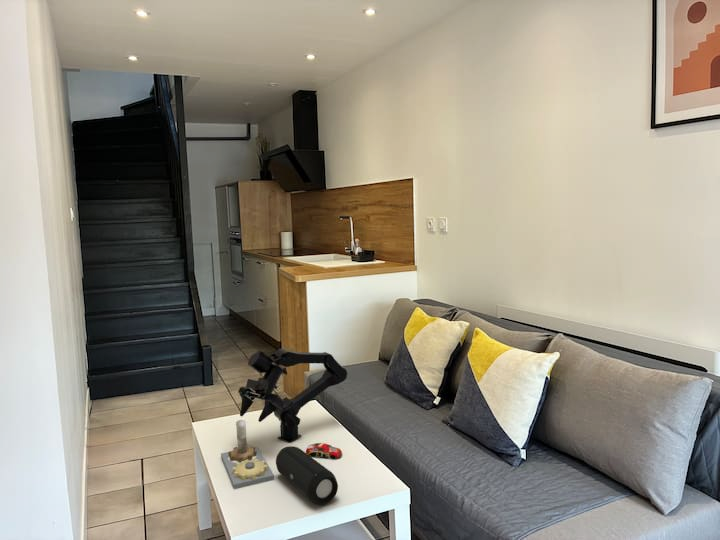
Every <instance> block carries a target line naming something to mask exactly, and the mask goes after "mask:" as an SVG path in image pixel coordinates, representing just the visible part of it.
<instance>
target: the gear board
mask: <svg viewBox="0 0 720 540" xmlns="http://www.w3.org/2000/svg"><path fill="white" fill-rule="evenodd" d="M253 447H255V450H257V456H254V457H253V458H252V460H245V461H242V462H239V463H238V461H230V457H229V455H228V452H229V451H226V452H221V453H220V457H221V461H222V463H223V466H224V468H225V470H226V473H227V475H228V477H229V479H230V482H231V484H232V487H233V489H234V490H236V489H240V488H245V487H249V486H253V485H257V484H261V483H265V482H270V481H274V480H275V474H274V473H273V471H272V469H271V467H270V466H269V464H268V462H267V460H266V458H265V457H264V455H263V454H262V451H261V450H260V448H259V447H258V445H255V446H253Z"/></svg>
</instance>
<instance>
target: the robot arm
mask: <svg viewBox="0 0 720 540" xmlns="http://www.w3.org/2000/svg"><path fill="white" fill-rule="evenodd" d="M300 364H323V367H324V369H325V370H324V372H323V374H322V376H321V377H319V378H318V379H317V380H316V381H314V382H313V383H312V384H310V385H309V386H308V387H306V388H305V389H303V391H301V392H300V393H298V394H297V395H296V396H294V397H293V398H288V397H287V396H285V397H284V398H282V397H281V396H279V394H276V393H273V392H274V390H277V389H278V386H277V384H278V382H279V380H280V378H281V376H282V375H284V376H288V372H287V368H288V367H294V366H297V365H300ZM247 365H248V366H249V367H250V368H252V369H253V370H255V371H256V372H258V373H259V374H262V373H264V374H263V376H262V377H259V378H258V379H250V378H247V380H246V385H245V386H240V387H239V389H238V391H237V393H238V394H239V396H240V398H241V405H240V412H239V416H240V417H244V415H245V414H246V413H247V411H248V410H249V409H250V408H251V406H252V405H253V403H254V400H255V399H257V400H261V401H264V406H263V409H262V411H261V413H260V415H259V417H258V422H259V423H261V422H263V421H264V420H265V419H266V418H268V417H269V416H270V415H271V414H273V415H274V416H275V417H276V418H277V419H278V421H280V425H279V426H280V436H278V440H281V441H284V442H287V443H292V442H293V441H296V440H298V439H299V438H301V437H302V435H301V434H300V433H299V425H300V423H301V418H299V417H298V414H299V413H300V411H301V408H303V407H304V406H306V405H307V404H308V403H309V402H311V401H312V400H314V399H315V398H316V397H318V395H319V396H320V394H321V393H323V392H324V391H326V390H327V389H328V388H330V387H333V386H337V385H339V384H341V383H343V382H345V381H346V380H347V377H348V371H347V369H346V368H344V367H343V366H342V365H341V364H340V363H339V362H338V361H337V360H336V359H335V358H334V356H333V355H332V354H330V353H328V352H326V351H325V352H310V351H309V352H308V351H307V352H304V351H303V352H302V351H299V352H298V351H294V350H290V349H287V348H278V349H277V350H276V351H275V352H273V353H271V354H268V355H267V354H266V353H264V351H262V350H261V349H259V350H258V351H257V352H255V353H254V354H252V355H251V356H250V358H248V362H247ZM281 366H282V367H281Z"/></svg>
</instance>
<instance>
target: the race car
mask: <svg viewBox="0 0 720 540" xmlns="http://www.w3.org/2000/svg"><path fill="white" fill-rule="evenodd" d="M305 449H306V450H305V453H306V454H308V455H309V456H310V457H312V458H319V457H320V458H321V459H328V458H329V460H334V459H335V460H337V459H340V458H341V457H342V456H343V451H342V449H341V448H339V447H335V446H332V444H328V443H324V442H317V443H312V444H309V445H308V446H307V447H306V448H305ZM320 458H319V459H320Z"/></svg>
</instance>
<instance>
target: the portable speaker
mask: <svg viewBox="0 0 720 540" xmlns="http://www.w3.org/2000/svg"><path fill="white" fill-rule="evenodd" d="M275 466H276V469H277V471H278V473H279V474H280V475H281V476H282V477H284V478H285V480H287V481H288V482H290V484H292V485H293V486H294V487H295V488H297V490H299V491H300V492H301V493H302V494H303V495H304V496H306V498H308V499H309V500H310V501H311V503H315V504H320V505H326V504H328V503H330V502H331V501H332V500H333V499H334V498H335V497H336V494H337V492H338V489H339V485H338V481H337V478H336V476H335V475H334V473H333V472H332V471H331V470H329V469H328V468H327V467H325V466H324V465H322V464H321V462H318V460H315V458H314V457H310V456H309V455H308V454H306V451H304V450H302V449H301V448H300V447H297V446H293V445H291V446H285V447H283V448H282V449H280V451H279V452H278V453H277V456H276V457H275Z"/></svg>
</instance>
